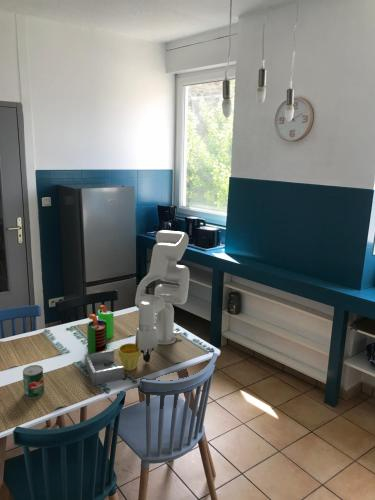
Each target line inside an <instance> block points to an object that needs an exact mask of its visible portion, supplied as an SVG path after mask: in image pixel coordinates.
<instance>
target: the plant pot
mask: <svg viewBox="0 0 375 500" xmlns="http://www.w3.org/2000/svg"><path fill="white" fill-rule="evenodd" d="M136 346H137V344H136ZM136 346H135V343H131V342H128V343H125V344H121V345H119V347H118V356H119V359H120V362H121V366H123V367H124V371H133V370H136V368H137V366H138V363H139V358H140V357H141V354H142V353H141V349H139V351H138V352H136Z"/></svg>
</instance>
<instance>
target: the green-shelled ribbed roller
mask: <svg viewBox="0 0 375 500" xmlns="http://www.w3.org/2000/svg"><path fill="white" fill-rule="evenodd" d="M114 317H115V316H114V312H112V311H110V310H107V307H106V306H105V305H104V304H102V305H100V306H99V309H98V310H97V320H105V321H107V339H111V338H113V337H114V333H115V331H114V329H115V328H114V325H115V324H114Z"/></svg>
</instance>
